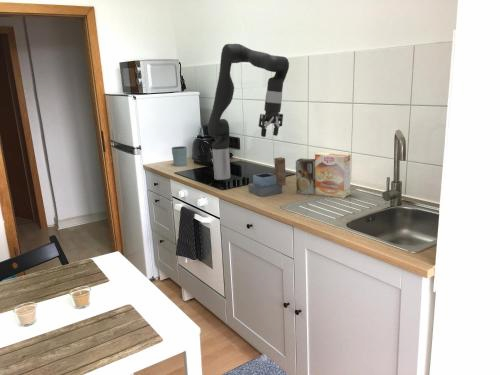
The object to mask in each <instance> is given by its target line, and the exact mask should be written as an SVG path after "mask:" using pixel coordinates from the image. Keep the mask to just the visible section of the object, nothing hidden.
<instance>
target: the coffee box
mask: <svg viewBox="0 0 500 375" xmlns="http://www.w3.org/2000/svg"><path fill="white" fill-rule="evenodd" d="M295 177H296V178H295V180H296V183H295V184H296V185H295V186H296V194H301V195H311V196H312V195H316V194H315V158H299V159H297V160H295Z"/></svg>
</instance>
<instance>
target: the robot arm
mask: <svg viewBox="0 0 500 375" xmlns="http://www.w3.org/2000/svg"><path fill="white" fill-rule="evenodd" d="M238 63H250V64H251V65H252V66H253V67H255V68H259V69H263V70H265V71H267V72H271V73H274V76H272V77H270V78H268V80H267V89H266V94H265V101H264V107H263V108H264V109H263V110H264V112H265V113H260V114H259V119H258V127H259V128H261V129H260V130H261V132H260V133H261V134H260V136H261V137H262V138H265V137H266V136H267V128H268V126H270V124H272V125H273V134H272V135H273V136H276V137H277V136H278V134H279V129H280V127H283V121H284V120H283V119H284V114H283V113H280V112H281V110H282V101H283V89H284V88H283V87H284V82H285V80H286V77H287V74H288V72H289V67H290V62H289V59H288V58H287V57H285V56H282V55H273V54H270V53H266V52H263V51H257V50H253V49H250V48H249V47H246V46H245V45H243V44H240V43H227V44H224V45H223V47H222V50H221V53H220V63H219V73H218V79H217V80H218V81H217V83H216V89H215V92H214V93H215V94H214V101H213V105H212V109H211V113H210V117H209V119H208V123H207V132H208V135H209V136H210V137H213V138H217V137H218V139H217V140H216V141H214V142H213V143H212V144H211V150H212V163H213V175H214V176H213V178H214V180H216V181H223V180H229V179H231V165H230V164H231V161H230V148H229V145H230V124H229V122H228V120H227V119H225V118H222V115H223V114H224V112H225V111H226V109H227V108H228V107H229V106H230V104H231V103H232V101H233V96H234V93H235V85H234V82H233V79H232V76H231V69H232V65H233V64H238Z"/></svg>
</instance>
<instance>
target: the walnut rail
mask: <svg viewBox="0 0 500 375" xmlns="http://www.w3.org/2000/svg"><path fill="white" fill-rule="evenodd" d="M273 161H274V175H276V183H278V184H281V185H282V186H286V184H287V182H286V177H287V175H286V158H285V157H281V156H279V157H274V160H273Z"/></svg>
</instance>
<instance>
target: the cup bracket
mask: <svg viewBox="0 0 500 375" xmlns="http://www.w3.org/2000/svg"><path fill="white" fill-rule="evenodd" d="M252 177H253V178H252V180H253V182H252V183H248V185H247V186H248V193H251V194H253V195H256V196H257V197H259V198H262V197H269V196H272V195H273V196H274V195H277V194H282V193H283V185H281V184H278V183H276V175H275V174H272V173H269V172H264V173H258V174H253V175H252Z"/></svg>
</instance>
